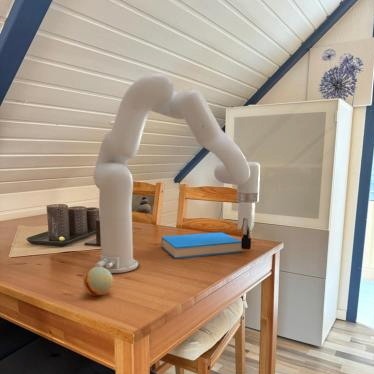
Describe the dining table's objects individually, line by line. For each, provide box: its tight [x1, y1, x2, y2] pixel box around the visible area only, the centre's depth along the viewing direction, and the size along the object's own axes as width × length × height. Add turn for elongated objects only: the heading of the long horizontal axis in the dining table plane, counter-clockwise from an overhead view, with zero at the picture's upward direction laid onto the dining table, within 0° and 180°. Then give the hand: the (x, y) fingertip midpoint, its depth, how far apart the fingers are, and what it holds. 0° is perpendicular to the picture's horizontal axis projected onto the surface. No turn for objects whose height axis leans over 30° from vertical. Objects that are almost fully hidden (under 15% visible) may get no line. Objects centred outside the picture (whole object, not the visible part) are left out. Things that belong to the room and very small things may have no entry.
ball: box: [82, 266, 114, 297], centre depth 85 cm, size 7×7×7 cm
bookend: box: [84, 218, 101, 247], centre depth 139 cm, size 14×9×10 cm, turn 163°
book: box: [161, 232, 242, 260], centre depth 128 cm, size 17×4×25 cm
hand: (246, 248), depth 125 cm, fingers closed
